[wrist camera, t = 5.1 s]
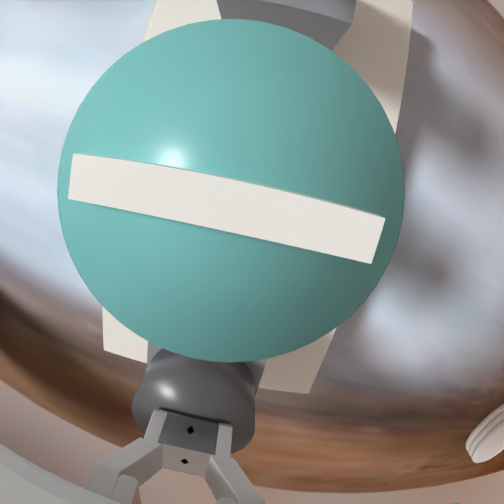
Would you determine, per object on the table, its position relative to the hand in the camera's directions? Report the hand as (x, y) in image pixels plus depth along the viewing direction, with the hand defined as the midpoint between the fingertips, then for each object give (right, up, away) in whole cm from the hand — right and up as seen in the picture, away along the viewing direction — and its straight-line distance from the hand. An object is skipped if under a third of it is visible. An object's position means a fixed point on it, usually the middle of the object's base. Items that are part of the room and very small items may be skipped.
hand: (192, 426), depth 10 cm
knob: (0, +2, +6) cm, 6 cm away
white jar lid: (+35, -17, +16) cm, 42 cm away
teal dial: (+2, +9, 0) cm, 9 cm away
